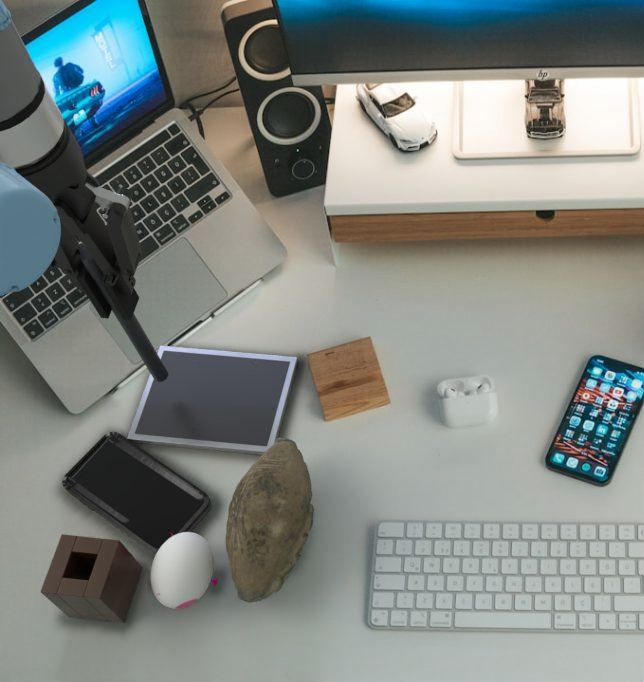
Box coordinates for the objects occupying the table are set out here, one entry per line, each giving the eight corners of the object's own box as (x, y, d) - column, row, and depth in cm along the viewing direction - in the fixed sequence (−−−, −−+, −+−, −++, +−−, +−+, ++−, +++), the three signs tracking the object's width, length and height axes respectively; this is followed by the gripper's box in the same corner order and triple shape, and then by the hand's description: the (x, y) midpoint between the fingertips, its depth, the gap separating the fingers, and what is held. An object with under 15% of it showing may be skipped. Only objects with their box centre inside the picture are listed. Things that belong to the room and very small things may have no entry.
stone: (310, 615, 106) (294, 585, 99) (221, 614, 106) (198, 584, 99) (330, 458, 115) (316, 422, 108) (248, 458, 115) (229, 422, 109)
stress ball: (188, 558, 113) (135, 535, 109) (240, 541, 109) (188, 516, 104) (172, 629, 108) (117, 607, 104) (226, 613, 104) (171, 590, 100)
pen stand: (68, 617, 106) (39, 592, 101) (88, 561, 110) (61, 533, 104) (124, 623, 106) (99, 598, 100) (143, 567, 109) (119, 540, 103)
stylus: (153, 384, 116) (76, 260, 98) (157, 371, 117) (82, 246, 99) (167, 385, 116) (93, 261, 98) (172, 372, 117) (99, 247, 99)
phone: (111, 427, 117) (213, 498, 111) (115, 432, 117) (216, 503, 112) (56, 483, 113) (159, 558, 108) (60, 488, 114) (162, 563, 109)
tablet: (129, 442, 117) (126, 438, 116) (162, 348, 123) (159, 344, 123) (273, 456, 115) (271, 452, 115) (298, 360, 122) (297, 356, 121)
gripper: (122, 109, 87) (203, 282, 107) (-49, 98, 89) (62, 271, 108) (91, 180, 83) (181, 346, 103) (-88, 167, 85) (35, 333, 104)
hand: (120, 307), depth 106 cm, fingers closed on stylus, 1 cm apart
